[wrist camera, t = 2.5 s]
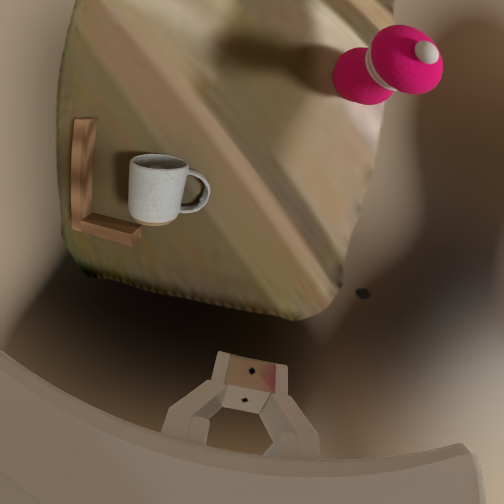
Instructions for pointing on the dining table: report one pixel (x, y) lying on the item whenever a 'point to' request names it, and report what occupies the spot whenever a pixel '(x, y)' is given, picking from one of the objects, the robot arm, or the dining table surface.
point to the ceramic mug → (160, 188)
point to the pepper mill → (389, 66)
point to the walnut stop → (83, 190)
